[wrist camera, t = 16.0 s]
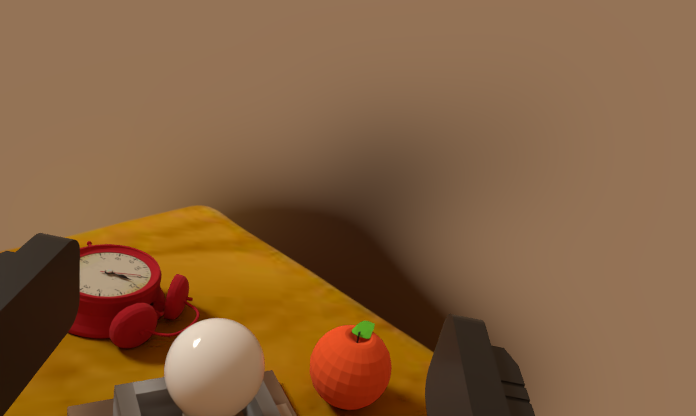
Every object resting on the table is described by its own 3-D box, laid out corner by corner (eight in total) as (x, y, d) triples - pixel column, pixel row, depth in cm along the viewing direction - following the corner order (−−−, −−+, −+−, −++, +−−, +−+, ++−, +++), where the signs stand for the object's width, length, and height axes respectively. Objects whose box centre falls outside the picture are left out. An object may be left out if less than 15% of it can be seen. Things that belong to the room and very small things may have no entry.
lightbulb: (259, 481, 40) (287, 351, 36) (165, 507, 37) (183, 367, 33) (230, 416, 45) (251, 295, 41) (145, 434, 42) (158, 304, 37)
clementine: (326, 353, 56) (342, 291, 53) (394, 383, 54) (414, 321, 51) (288, 405, 49) (304, 337, 46) (364, 441, 47) (385, 373, 44)
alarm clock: (96, 229, 60) (220, 252, 55) (104, 284, 62) (225, 311, 57) (7, 270, 51) (145, 303, 46) (20, 333, 53) (154, 371, 48)
